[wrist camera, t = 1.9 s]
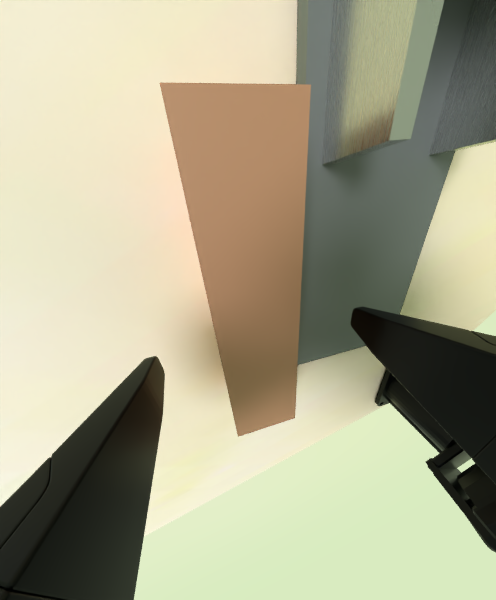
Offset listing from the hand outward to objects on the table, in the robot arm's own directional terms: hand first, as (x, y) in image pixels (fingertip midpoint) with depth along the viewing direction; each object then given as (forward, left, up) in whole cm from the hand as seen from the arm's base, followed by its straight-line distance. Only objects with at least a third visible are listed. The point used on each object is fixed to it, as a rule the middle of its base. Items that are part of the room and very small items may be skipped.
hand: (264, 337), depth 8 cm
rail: (0, 0, -4) cm, 4 cm away
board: (+3, -8, -4) cm, 9 cm away
